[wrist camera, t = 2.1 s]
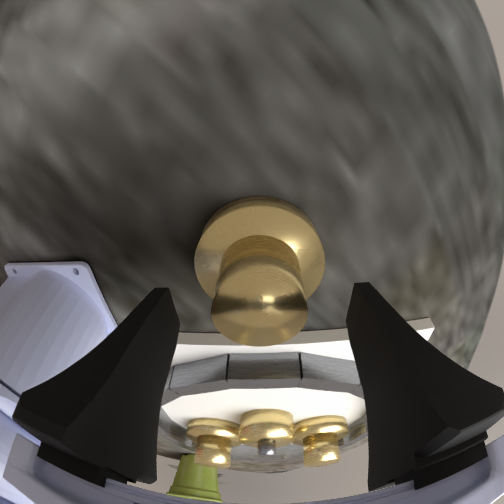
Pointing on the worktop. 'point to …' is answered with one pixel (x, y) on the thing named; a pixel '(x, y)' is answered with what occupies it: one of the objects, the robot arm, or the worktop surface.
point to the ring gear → (261, 377)
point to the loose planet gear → (259, 269)
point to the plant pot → (195, 481)
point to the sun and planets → (267, 436)
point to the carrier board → (288, 399)
